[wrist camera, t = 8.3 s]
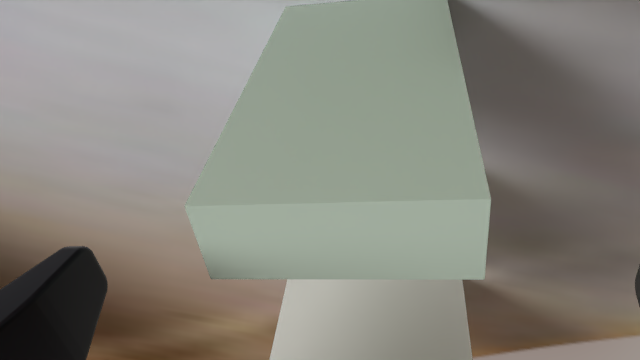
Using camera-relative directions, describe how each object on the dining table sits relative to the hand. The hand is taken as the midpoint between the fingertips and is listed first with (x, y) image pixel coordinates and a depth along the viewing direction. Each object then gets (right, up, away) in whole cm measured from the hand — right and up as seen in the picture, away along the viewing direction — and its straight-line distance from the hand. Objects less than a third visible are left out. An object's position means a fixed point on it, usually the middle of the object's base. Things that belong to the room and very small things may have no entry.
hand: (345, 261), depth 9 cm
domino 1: (+1, +6, +8) cm, 11 cm away
